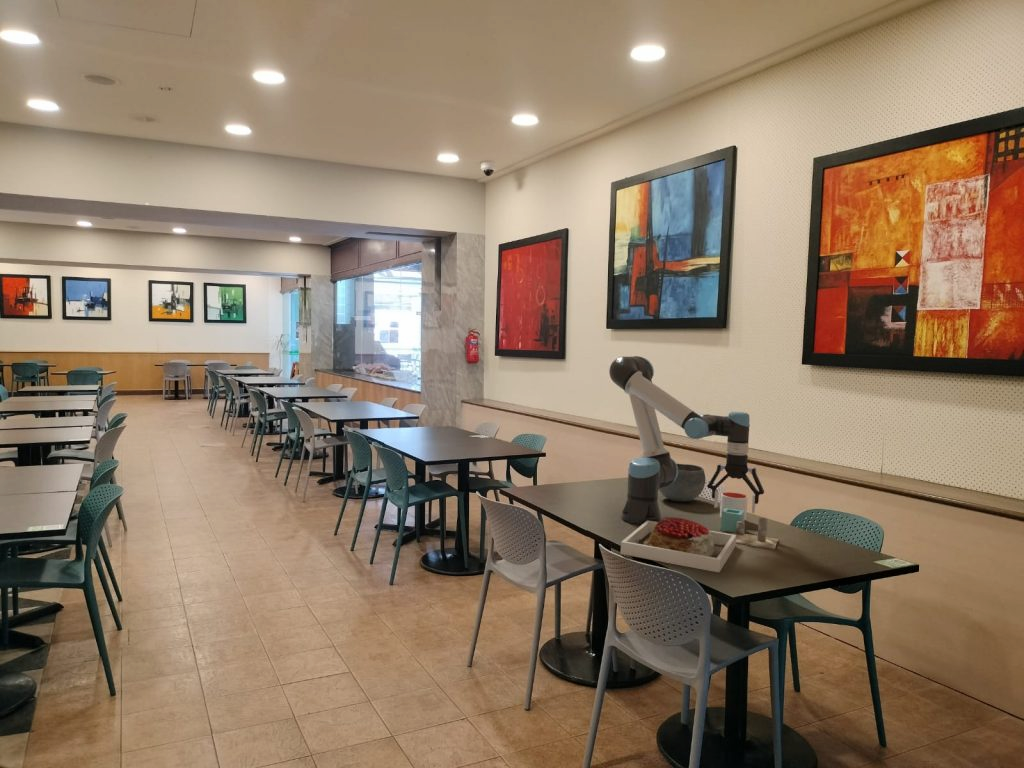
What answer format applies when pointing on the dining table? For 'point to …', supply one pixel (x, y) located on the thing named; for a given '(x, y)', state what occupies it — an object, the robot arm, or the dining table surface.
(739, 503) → the cup
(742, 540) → the cream base with posts
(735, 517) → the mint green cube
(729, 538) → the cake tray
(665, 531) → the cake
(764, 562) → the dining table surface
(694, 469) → the bowl
